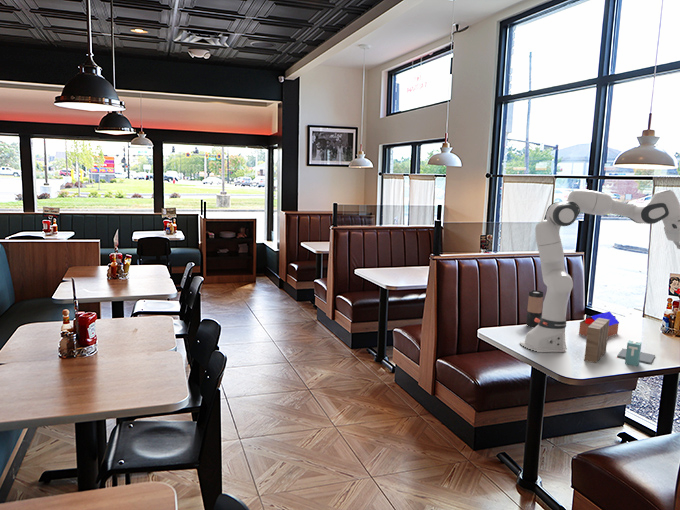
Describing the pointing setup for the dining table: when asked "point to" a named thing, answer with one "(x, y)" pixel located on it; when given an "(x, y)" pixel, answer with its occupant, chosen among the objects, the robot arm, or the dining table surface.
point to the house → (607, 315)
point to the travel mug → (534, 307)
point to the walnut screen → (596, 340)
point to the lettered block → (633, 353)
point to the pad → (643, 356)
